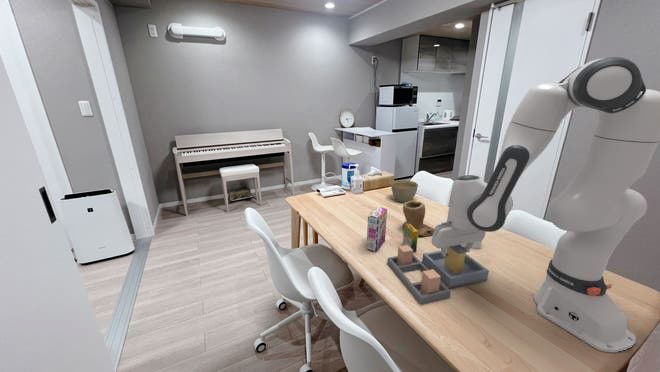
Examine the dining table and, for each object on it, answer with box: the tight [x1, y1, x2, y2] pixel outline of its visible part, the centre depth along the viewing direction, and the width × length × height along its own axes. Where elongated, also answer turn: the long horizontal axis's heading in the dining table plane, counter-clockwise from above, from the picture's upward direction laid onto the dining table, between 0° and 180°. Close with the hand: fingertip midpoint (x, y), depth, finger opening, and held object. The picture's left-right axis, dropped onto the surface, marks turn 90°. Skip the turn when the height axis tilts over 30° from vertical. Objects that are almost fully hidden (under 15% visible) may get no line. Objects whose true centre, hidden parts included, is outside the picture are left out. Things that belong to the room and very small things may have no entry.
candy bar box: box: [366, 206, 388, 253], centre depth 116 cm, size 11×5×16 cm, turn 149°
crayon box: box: [402, 220, 419, 253], centre depth 114 cm, size 7×3×12 cm, turn 12°
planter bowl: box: [390, 179, 419, 204], centre depth 166 cm, size 16×16×11 cm
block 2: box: [419, 269, 441, 295], centre depth 88 cm, size 4×4×8 cm
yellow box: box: [445, 244, 467, 274], centre depth 98 cm, size 6×3×10 cm, turn 15°
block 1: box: [396, 245, 414, 266], centre depth 102 cm, size 4×4×8 cm
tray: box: [421, 249, 490, 290], centre depth 100 cm, size 16×16×4 cm
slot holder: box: [386, 254, 452, 305], centre depth 96 cm, size 23×11×2 cm, turn 15°
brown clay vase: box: [401, 200, 435, 237], centre depth 127 cm, size 15×12×15 cm
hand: (455, 253), depth 98 cm, fingers open, 8 cm apart
